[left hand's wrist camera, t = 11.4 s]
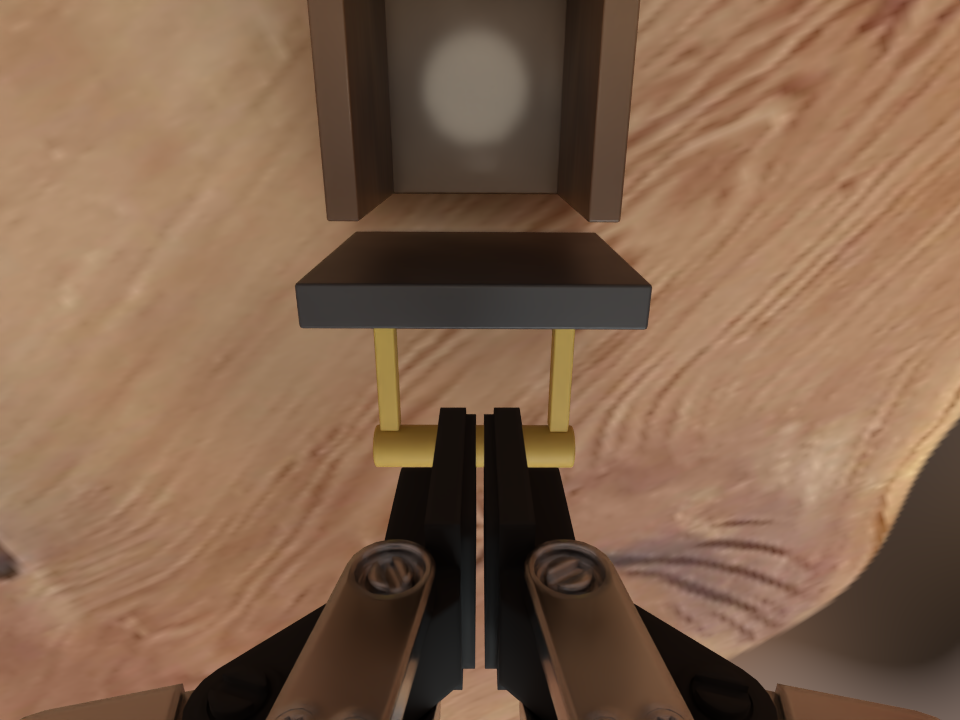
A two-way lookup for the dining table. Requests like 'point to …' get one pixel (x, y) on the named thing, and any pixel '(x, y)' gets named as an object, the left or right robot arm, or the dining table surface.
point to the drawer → (473, 182)
